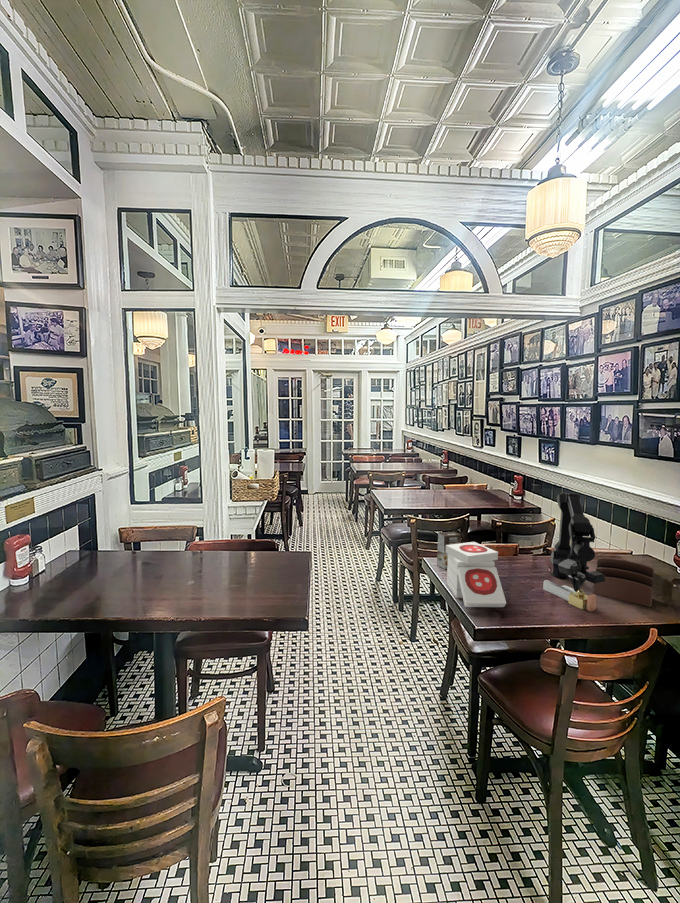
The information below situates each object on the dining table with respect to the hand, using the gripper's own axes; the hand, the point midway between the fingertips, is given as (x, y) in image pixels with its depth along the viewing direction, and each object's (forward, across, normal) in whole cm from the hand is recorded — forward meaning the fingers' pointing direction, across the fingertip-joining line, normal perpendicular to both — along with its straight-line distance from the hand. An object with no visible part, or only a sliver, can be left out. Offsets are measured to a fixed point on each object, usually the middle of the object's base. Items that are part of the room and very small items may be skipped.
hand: (576, 591), depth 168 cm
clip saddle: (+5, +2, 0) cm, 5 cm away
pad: (+5, -10, +7) cm, 13 cm away
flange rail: (+5, -4, -4) cm, 7 cm away
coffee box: (+6, -52, -21) cm, 57 cm away
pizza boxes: (+5, -20, -33) cm, 39 cm away
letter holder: (+5, +2, +24) cm, 25 cm away
